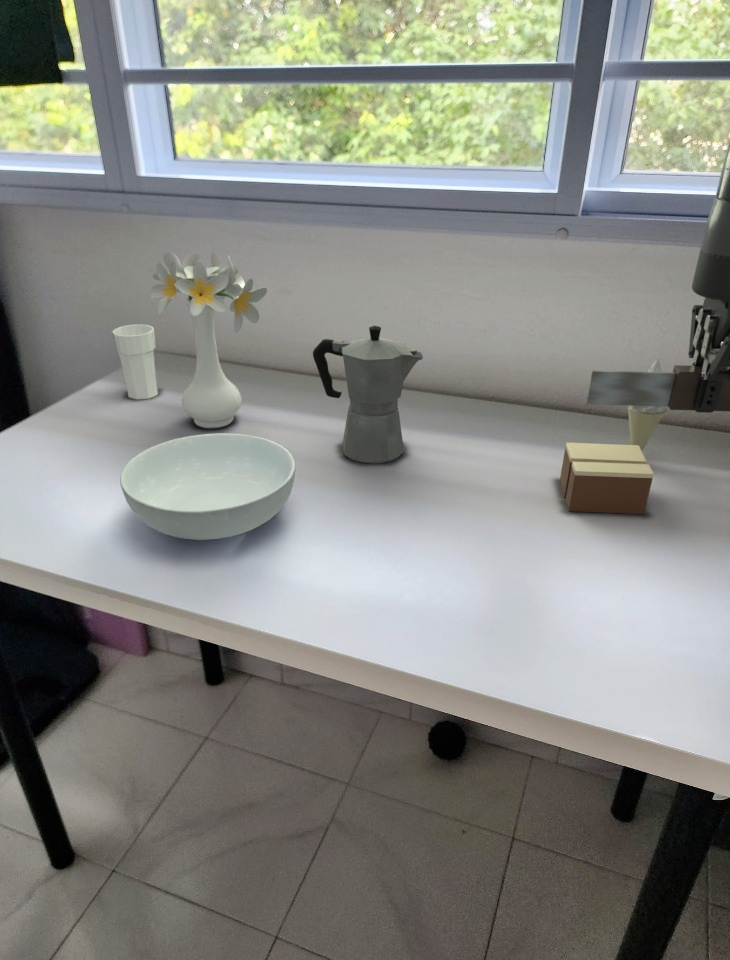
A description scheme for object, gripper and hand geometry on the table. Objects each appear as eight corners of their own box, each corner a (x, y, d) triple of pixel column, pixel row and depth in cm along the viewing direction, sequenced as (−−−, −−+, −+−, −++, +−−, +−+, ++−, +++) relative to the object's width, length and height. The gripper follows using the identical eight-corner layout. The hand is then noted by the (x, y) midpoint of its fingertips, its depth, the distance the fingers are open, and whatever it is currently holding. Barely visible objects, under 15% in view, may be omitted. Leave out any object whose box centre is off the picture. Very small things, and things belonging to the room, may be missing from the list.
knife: (729, 404, 86) (739, 366, 83) (735, 411, 84) (746, 373, 82) (585, 400, 88) (591, 363, 85) (588, 407, 86) (594, 370, 84)
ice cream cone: (616, 468, 102) (639, 361, 94) (613, 452, 106) (635, 348, 98) (656, 471, 101) (682, 364, 93) (651, 455, 105) (676, 351, 97)
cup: (153, 402, 125) (143, 337, 119) (116, 399, 127) (105, 335, 121) (168, 388, 131) (160, 325, 125) (134, 385, 132) (123, 323, 126)
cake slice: (639, 504, 94) (648, 464, 91) (643, 514, 92) (653, 473, 89) (565, 501, 95) (572, 461, 92) (568, 511, 93) (575, 470, 90)
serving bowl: (321, 490, 98) (320, 442, 95) (255, 578, 82) (250, 524, 78) (181, 468, 105) (175, 422, 101) (94, 545, 88) (82, 494, 84)
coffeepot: (425, 442, 110) (432, 320, 100) (409, 470, 103) (415, 341, 93) (326, 429, 115) (324, 311, 105) (304, 455, 107) (299, 330, 97)
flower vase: (248, 447, 110) (234, 270, 96) (146, 426, 117) (119, 259, 103) (289, 414, 120) (282, 250, 106) (193, 397, 127) (175, 241, 113)
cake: (630, 484, 98) (639, 445, 95) (637, 501, 94) (647, 461, 91) (559, 480, 99) (566, 442, 96) (564, 497, 96) (571, 458, 93)
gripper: (808, 262, 70) (755, 432, 79) (757, 233, 81) (716, 385, 91) (723, 261, 71) (681, 430, 80) (684, 233, 82) (651, 383, 92)
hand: (699, 405), depth 85 cm, fingers closed on knife, 2 cm apart
